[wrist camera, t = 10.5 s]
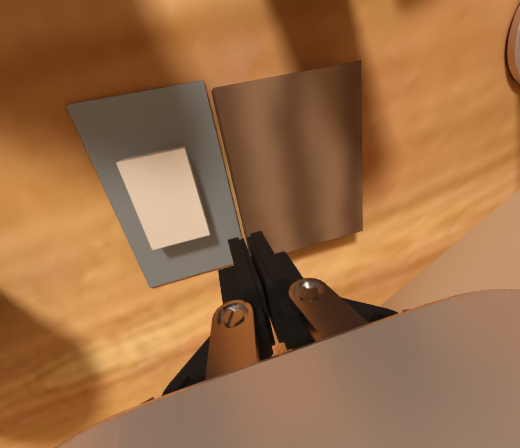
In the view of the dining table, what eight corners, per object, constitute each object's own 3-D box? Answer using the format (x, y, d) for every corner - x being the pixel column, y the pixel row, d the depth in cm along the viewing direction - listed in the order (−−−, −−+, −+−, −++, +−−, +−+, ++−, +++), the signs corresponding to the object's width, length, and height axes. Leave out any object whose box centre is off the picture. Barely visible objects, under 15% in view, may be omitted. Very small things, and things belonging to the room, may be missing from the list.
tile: (116, 162, 22) (122, 158, 24) (152, 250, 26) (155, 240, 28) (184, 148, 23) (185, 145, 25) (210, 234, 27) (208, 226, 29)
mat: (203, 80, 24) (203, 80, 23) (246, 258, 32) (246, 259, 32) (67, 105, 22) (65, 104, 21) (150, 285, 30) (149, 288, 30)
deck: (343, 66, 26) (360, 60, 23) (349, 221, 34) (362, 230, 31) (211, 91, 24) (213, 88, 21) (248, 250, 32) (253, 262, 29)
